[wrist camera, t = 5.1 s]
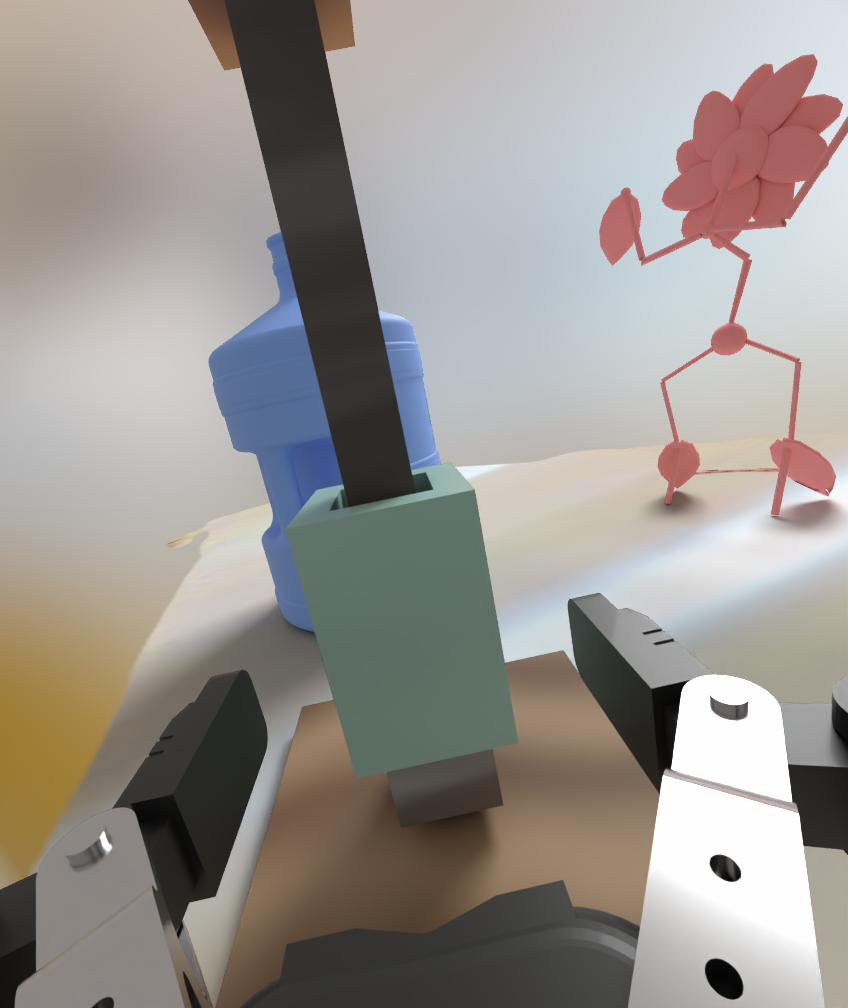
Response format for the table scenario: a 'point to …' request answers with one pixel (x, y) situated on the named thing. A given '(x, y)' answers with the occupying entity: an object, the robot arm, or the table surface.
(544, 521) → the table surface
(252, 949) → the cord stand
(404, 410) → the water jug
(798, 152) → the figurine
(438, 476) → the sleeve
